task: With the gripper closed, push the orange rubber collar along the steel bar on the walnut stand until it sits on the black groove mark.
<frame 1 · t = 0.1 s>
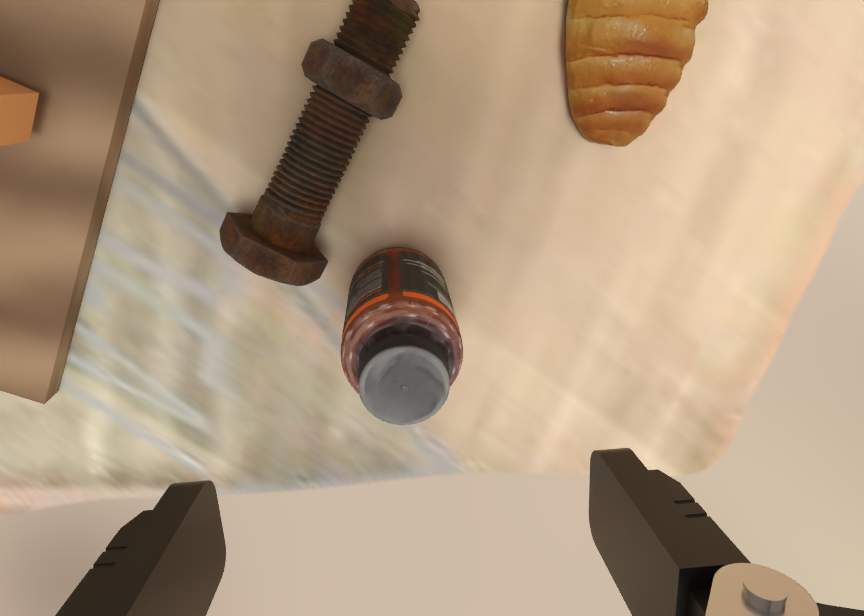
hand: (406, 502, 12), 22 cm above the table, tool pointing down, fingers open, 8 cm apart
supplement bottle: (398, 289, 34), on the table
pastry: (621, 38, 29), on the table
bolt: (333, 133, 30), on the table
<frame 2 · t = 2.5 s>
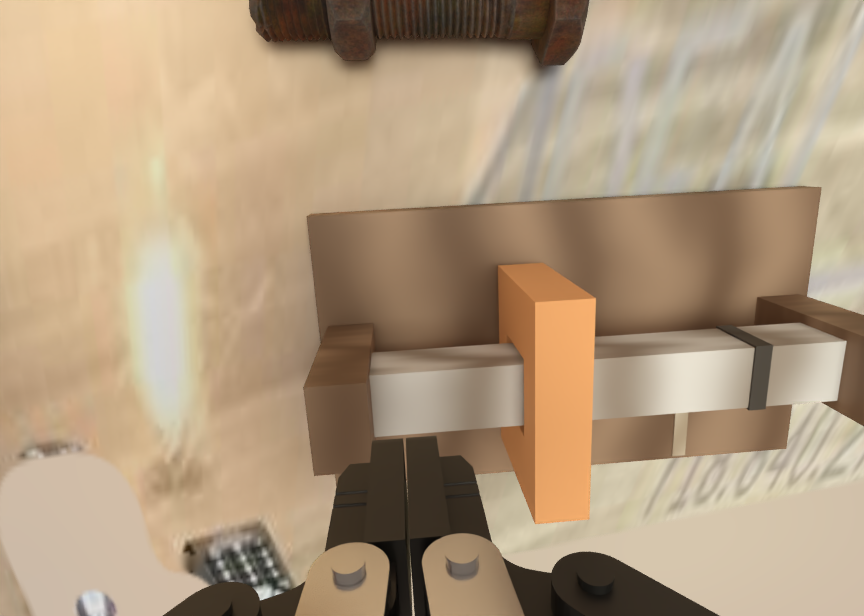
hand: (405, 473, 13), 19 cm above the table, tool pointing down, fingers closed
collar: (539, 380, 26), point 6 cm above the table, slide at 0.0 cm
pipe stand: (560, 335, 33), on the table
bolt: (414, 12, 28), on the table
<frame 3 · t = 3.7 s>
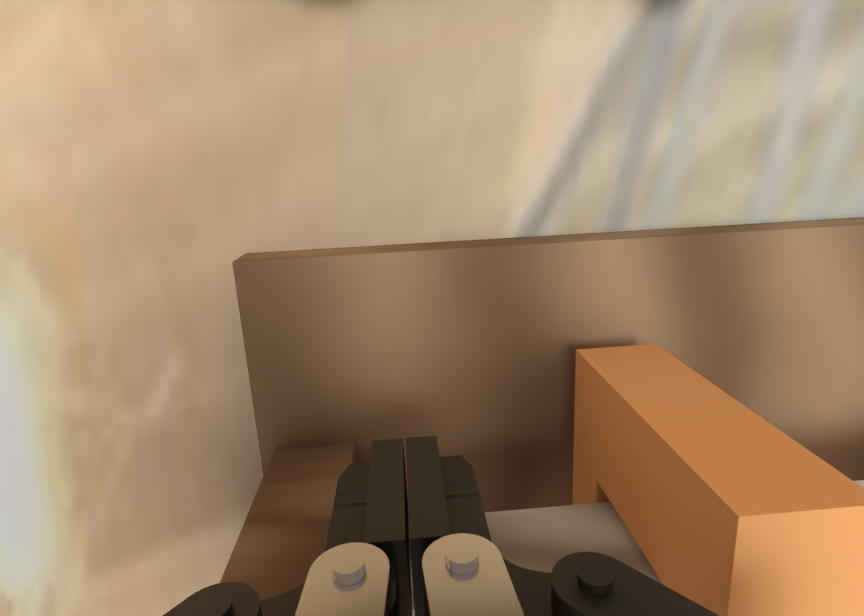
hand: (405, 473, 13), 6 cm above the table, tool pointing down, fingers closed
collar: (669, 586, 14), point 6 cm above the table, slide at 0.0 cm
pipe stand: (662, 446, 20), on the table
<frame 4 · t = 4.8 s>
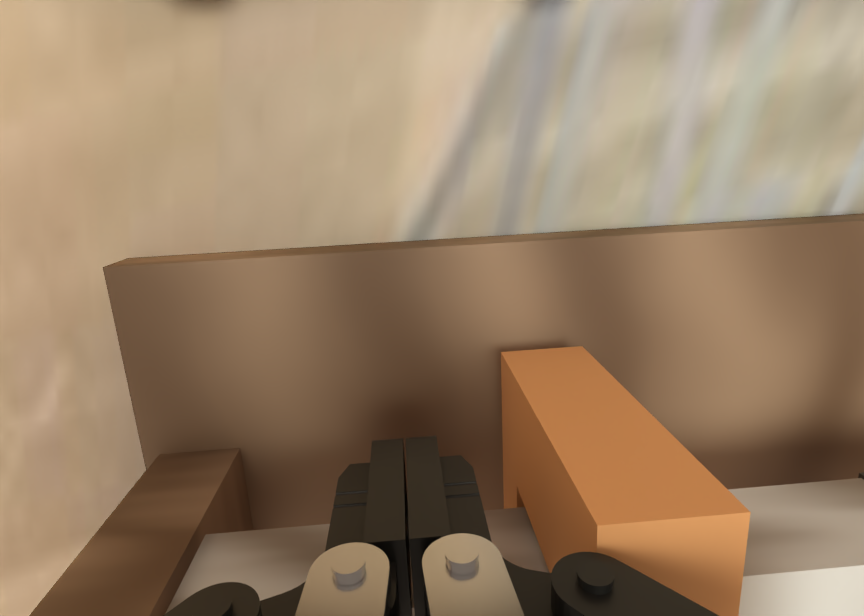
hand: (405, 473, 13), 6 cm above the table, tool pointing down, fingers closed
collar: (582, 593, 13), point 6 cm above the table, slide at 1.4 cm, touching gripper
pipe stand: (566, 452, 20), on the table
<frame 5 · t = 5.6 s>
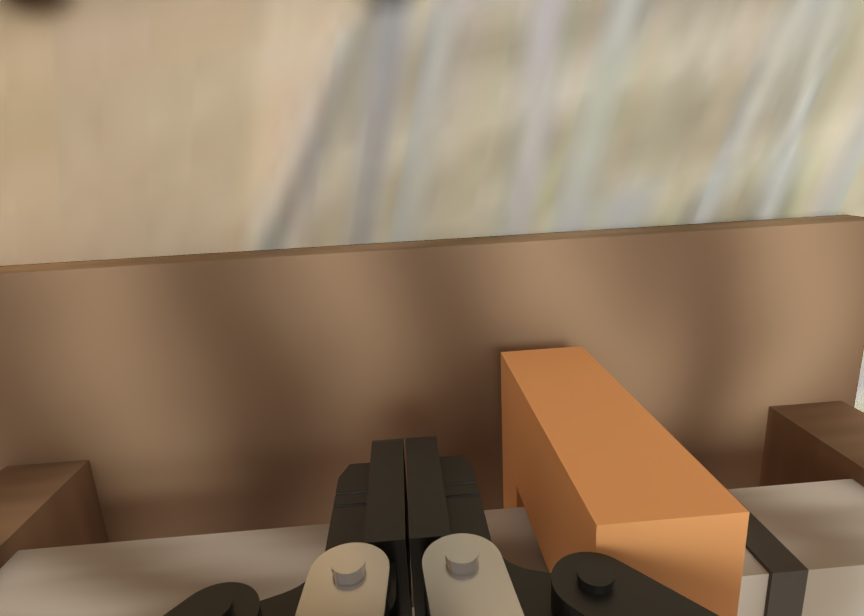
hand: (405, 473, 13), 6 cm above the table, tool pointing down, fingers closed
collar: (582, 593, 13), point 7 cm above the table, slide at 6.0 cm, touching gripper
pipe stand: (438, 462, 19), on the table
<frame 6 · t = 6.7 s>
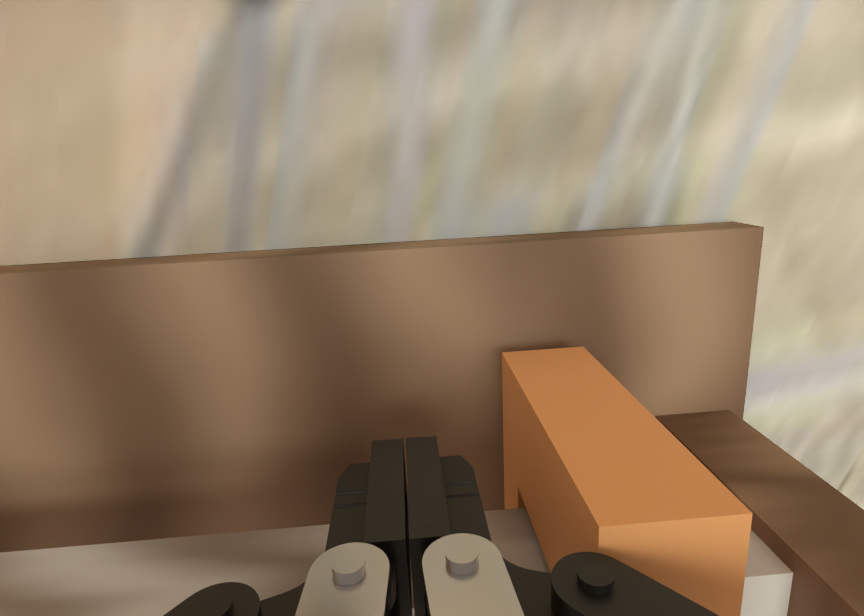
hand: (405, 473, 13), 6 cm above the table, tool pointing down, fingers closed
collar: (583, 594, 13), point 6 cm above the table, slide at 9.9 cm, touching gripper
pipe stand: (330, 471, 19), on the table
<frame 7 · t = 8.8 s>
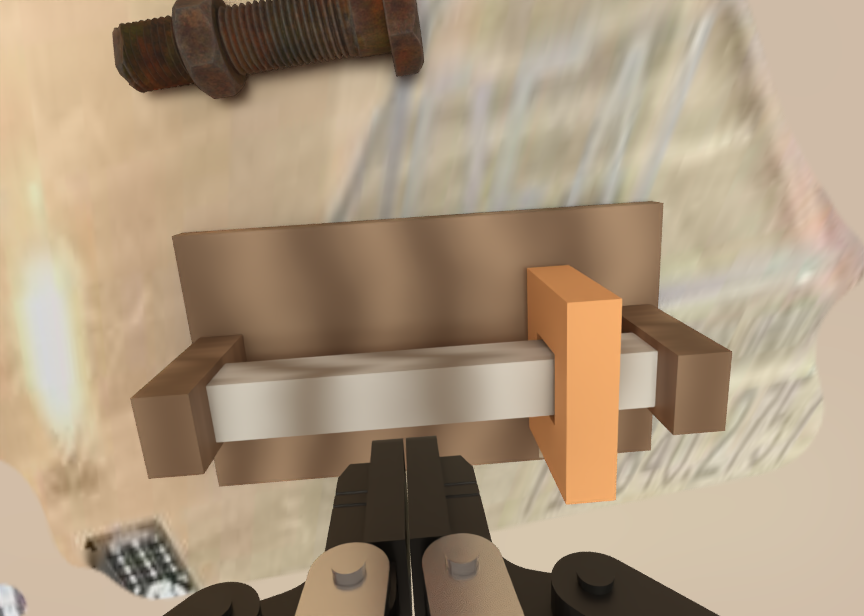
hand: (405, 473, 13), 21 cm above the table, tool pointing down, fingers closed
collar: (567, 374, 28), point 6 cm above the table, slide at 10.0 cm
pipe stand: (429, 343, 34), on the table
bolt: (280, 42, 30), on the table
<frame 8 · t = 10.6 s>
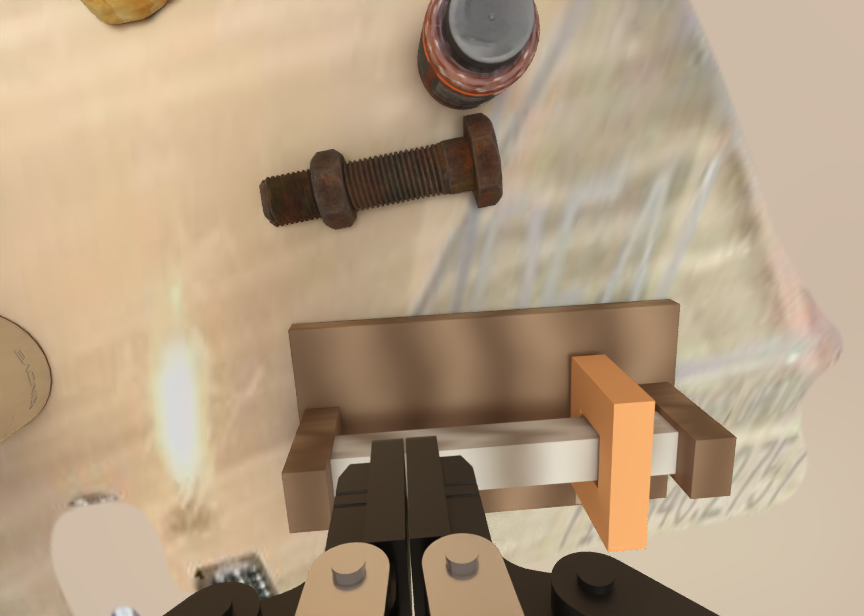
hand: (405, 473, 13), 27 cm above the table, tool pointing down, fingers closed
collar: (606, 446, 36), point 7 cm above the table, slide at 10.0 cm
pipe stand: (486, 410, 42), on the table
supplement bottle: (462, 62, 36), on the table
bolt: (380, 177, 37), on the table
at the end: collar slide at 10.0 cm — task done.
